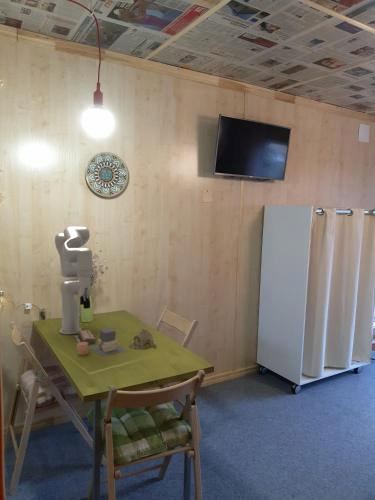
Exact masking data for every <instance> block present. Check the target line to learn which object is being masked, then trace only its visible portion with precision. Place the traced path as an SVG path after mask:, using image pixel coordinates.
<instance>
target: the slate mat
mask: <svg viewBox="0 0 375 500" xmlns="http://www.w3.org/2000/svg"><path fill="white" fill-rule="evenodd" d="M88 349H90V350H92V351H93V352H95V353H97V354H98V355H100V356H101V357H107V356H110V355H115V354H119V353H122V352H126V351H127V349H126V348H123V347H122V346H120V345H118V344H117V349H116V350H112V351H108V352H103V351H102V350H100V349H99V348H98V344H95V345H91V346H88Z"/></svg>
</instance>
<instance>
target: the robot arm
mask: <svg viewBox="0 0 375 500" xmlns="http://www.w3.org/2000/svg"><path fill="white" fill-rule="evenodd" d="M90 235H91V234H90V230H89V228H88V227H86V226H67V227H65V229H64V230H63V232H59V233H57V234H56V235H55V237H54V245H55V247H56V250H57V253H58V255H59V262H60V271H61V272H60V273H61V275H62V277H63V278H66V279H65V280H63V281H61V282H60V286H59V288H60V295H61V328H59V330H58V331H59V333H60V334H62V335H75V334H78V331H79V330H82V327H81V326H80V322H79V319H80V318H79V317H80V315H79V314H80V313H79V312H80V311H79V310H80V309H79V307H80V305H82V306H83V309H84V310H85V309H86V310H87V309H91V298H90V296H91V290H92V289H91V288H92V285H91V277H93V251H92V249H90V248H89V247H84V246H85V245H86V244H87V242H88V241H89V240H90ZM67 278H68V279H67ZM71 278H72V279H71ZM75 296H80V297H79V300H78V299H77V298H76V297H75ZM79 302H80V303H79Z"/></svg>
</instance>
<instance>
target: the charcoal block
mask: <svg viewBox="0 0 375 500" xmlns="http://www.w3.org/2000/svg"><path fill="white" fill-rule="evenodd" d="M116 333H117V332H116V330H114V329H113V328H111V327H108V328H102V329H99V339H100V340H102V341H104V342H109V341H113V340H115V339H116Z"/></svg>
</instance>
